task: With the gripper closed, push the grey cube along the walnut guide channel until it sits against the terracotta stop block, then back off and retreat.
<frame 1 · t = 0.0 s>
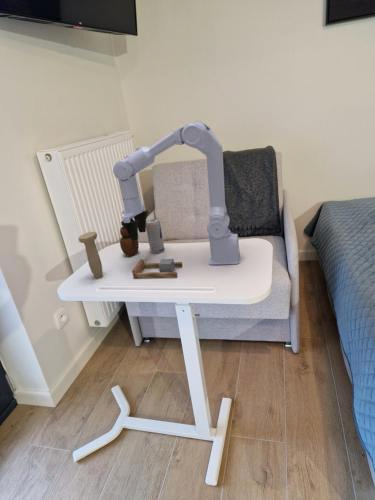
hand: (138, 236, 112), 10 cm above the table, fingers open, 7 cm apart
grey cube: (167, 272, 106), resting in channel
energy drink: (157, 251, 125), on the table
handle: (98, 277, 110), on the table
wooden figurine: (131, 254, 125), on the table
channel: (159, 272, 107), on the table
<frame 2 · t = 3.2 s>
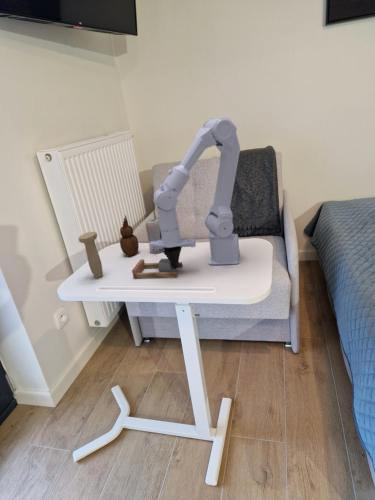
hand: (176, 267, 105), 1 cm above the table, fingers closed
grey cube: (167, 272, 106), resting in channel, touching gripper
everything else where it was.
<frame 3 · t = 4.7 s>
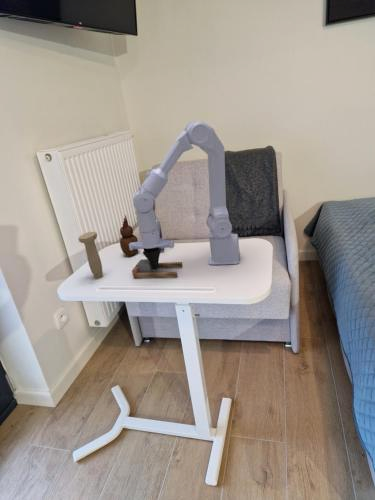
hand: (155, 268, 107), 1 cm above the table, fingers closed
grey cube: (147, 272, 108), resting in channel, touching gripper
everything else where it was.
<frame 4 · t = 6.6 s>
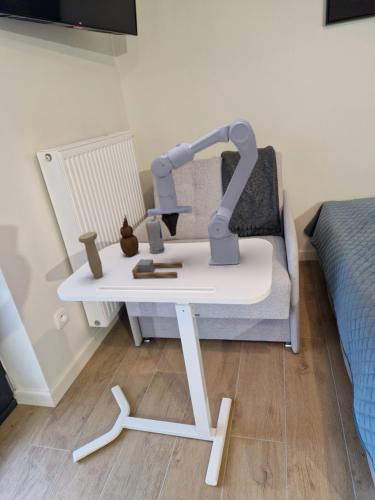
hand: (173, 235, 109), 10 cm above the table, fingers closed
grey cube: (147, 273, 108), resting in channel
everything else where it was.
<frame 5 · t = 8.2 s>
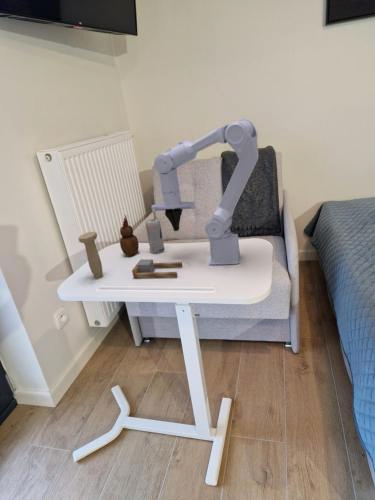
hand: (176, 230, 112), 10 cm above the table, fingers closed
nothing on the table moved.
at the end: grey cube 0.4 cm from the target spot, resting in channel; grey cube tilted 0°; grey cube moved 7.2 cm from its start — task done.
